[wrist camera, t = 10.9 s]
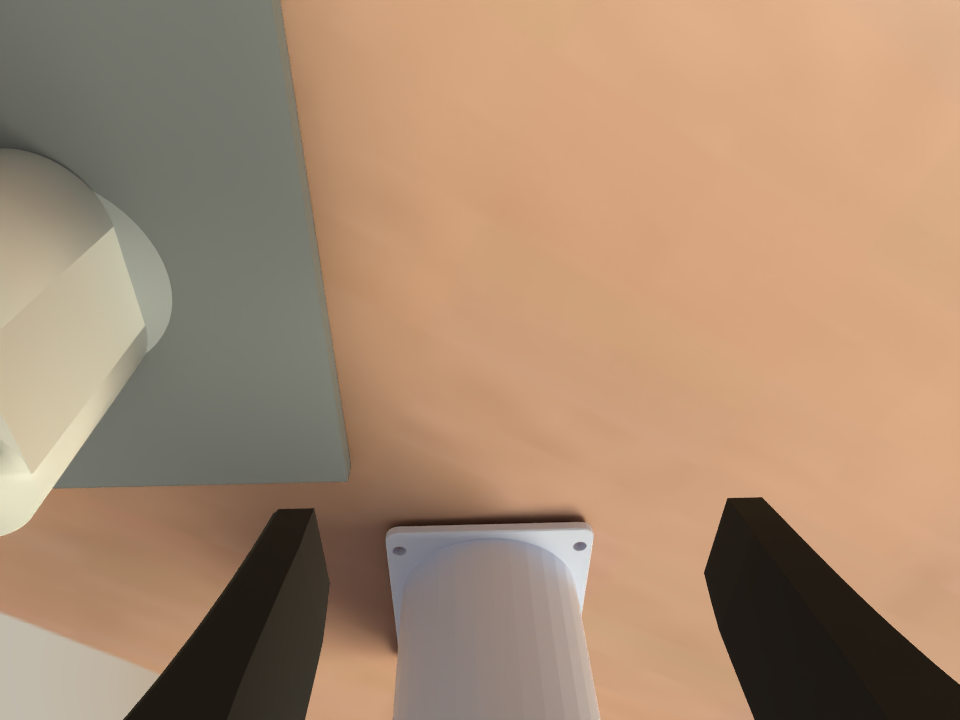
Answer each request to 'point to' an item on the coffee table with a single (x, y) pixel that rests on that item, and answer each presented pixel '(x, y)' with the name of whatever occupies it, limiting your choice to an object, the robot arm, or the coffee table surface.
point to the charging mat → (190, 231)
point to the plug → (56, 326)
